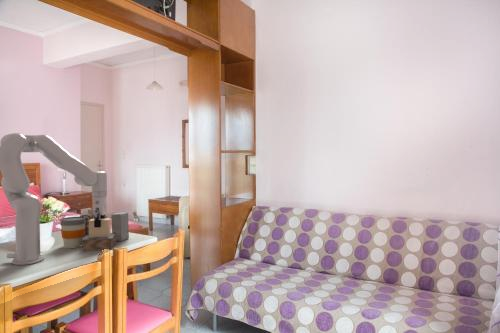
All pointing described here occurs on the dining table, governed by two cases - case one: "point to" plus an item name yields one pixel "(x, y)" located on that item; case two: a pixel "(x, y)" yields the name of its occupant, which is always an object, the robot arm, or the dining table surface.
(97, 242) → the podium
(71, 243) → the reusable coffee cup
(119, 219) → the skincare box
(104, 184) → the robot arm
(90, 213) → the decorative jar
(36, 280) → the dining table surface
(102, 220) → the carton
